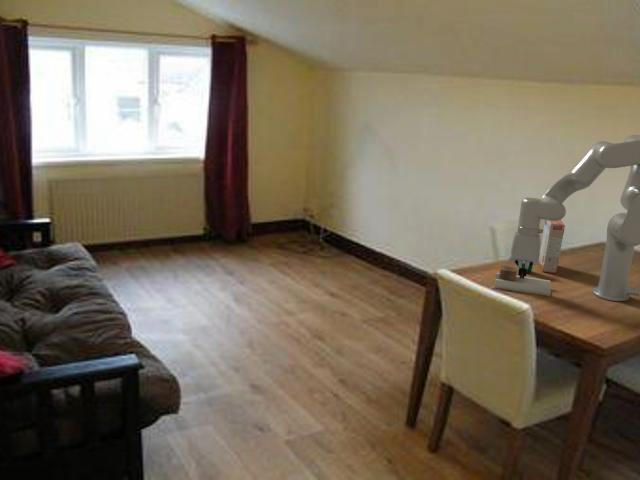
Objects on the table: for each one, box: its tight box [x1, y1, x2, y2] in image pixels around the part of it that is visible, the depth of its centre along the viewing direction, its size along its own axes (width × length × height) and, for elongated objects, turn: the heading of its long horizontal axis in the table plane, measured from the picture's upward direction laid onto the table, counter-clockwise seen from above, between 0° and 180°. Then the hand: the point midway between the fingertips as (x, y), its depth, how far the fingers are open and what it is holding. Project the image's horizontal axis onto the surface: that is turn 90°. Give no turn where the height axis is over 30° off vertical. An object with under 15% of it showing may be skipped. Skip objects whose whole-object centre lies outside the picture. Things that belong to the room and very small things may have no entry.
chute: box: [494, 272, 552, 297], centre depth 236 cm, size 20×9×3 cm, turn 72°
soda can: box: [522, 261, 534, 274], centre depth 254 cm, size 5×5×12 cm
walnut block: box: [499, 265, 518, 282], centre depth 237 cm, size 6×6×6 cm
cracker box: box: [538, 219, 566, 274], centre depth 260 cm, size 14×6×21 cm, turn 168°
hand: (521, 277), depth 235 cm, fingers closed
